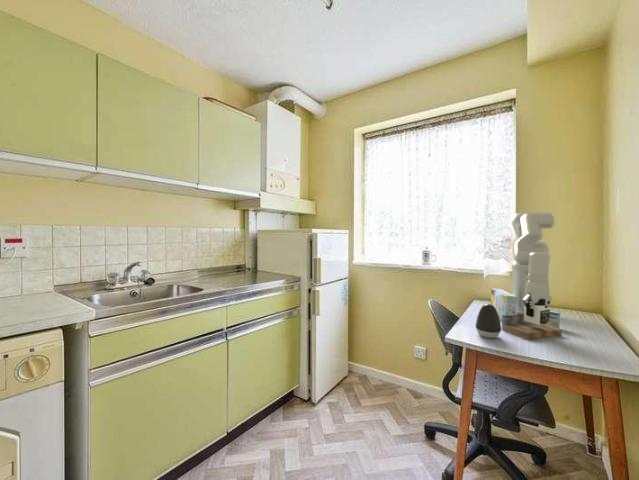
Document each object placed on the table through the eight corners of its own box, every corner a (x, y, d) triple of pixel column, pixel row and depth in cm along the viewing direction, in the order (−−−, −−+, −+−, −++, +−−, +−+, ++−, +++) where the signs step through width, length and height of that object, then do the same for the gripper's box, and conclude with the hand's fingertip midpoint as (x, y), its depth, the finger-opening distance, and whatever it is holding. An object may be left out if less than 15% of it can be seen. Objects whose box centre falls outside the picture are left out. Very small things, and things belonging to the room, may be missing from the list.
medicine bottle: (540, 325, 131) (541, 299, 130) (523, 321, 137) (524, 296, 137) (549, 323, 134) (550, 298, 133) (532, 319, 140) (533, 294, 140)
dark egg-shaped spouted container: (477, 338, 130) (477, 305, 130) (474, 331, 140) (474, 300, 139) (503, 342, 127) (504, 307, 126) (498, 334, 136) (499, 302, 136)
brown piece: (533, 326, 147) (533, 312, 147) (561, 335, 134) (562, 320, 134) (501, 329, 142) (502, 315, 142) (527, 339, 129) (528, 323, 129)
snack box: (517, 325, 149) (518, 296, 149) (505, 324, 150) (505, 295, 150) (500, 313, 170) (500, 288, 169) (489, 312, 171) (490, 287, 171)
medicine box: (538, 327, 146) (539, 310, 146) (539, 325, 150) (540, 308, 149) (559, 330, 141) (559, 313, 141) (559, 328, 144) (560, 311, 144)
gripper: (544, 276, 140) (542, 311, 141) (516, 277, 136) (514, 314, 137) (560, 279, 133) (559, 316, 134) (531, 280, 129) (529, 319, 130)
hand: (536, 315), depth 135 cm, fingers closed on medicine bottle, 7 cm apart
